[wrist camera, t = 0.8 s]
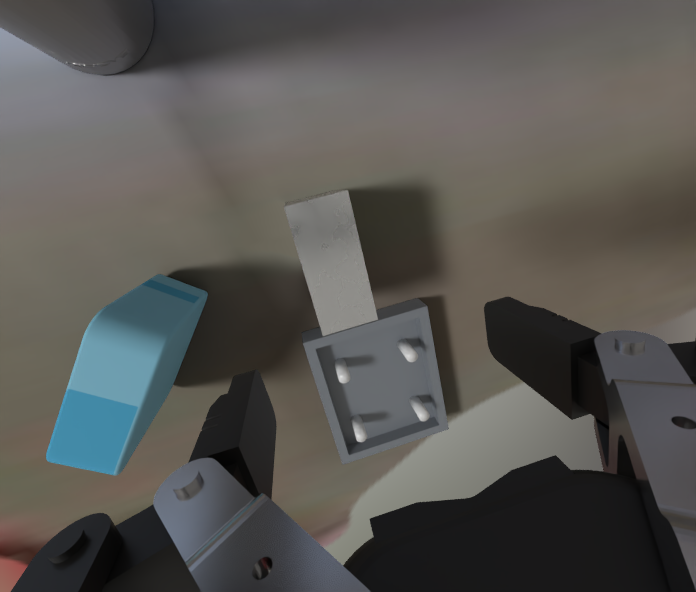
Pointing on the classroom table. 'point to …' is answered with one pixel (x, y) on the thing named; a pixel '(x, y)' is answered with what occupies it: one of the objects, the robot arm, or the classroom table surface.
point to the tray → (379, 381)
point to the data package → (124, 374)
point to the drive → (332, 260)
